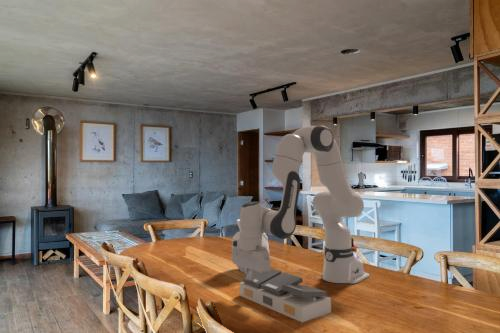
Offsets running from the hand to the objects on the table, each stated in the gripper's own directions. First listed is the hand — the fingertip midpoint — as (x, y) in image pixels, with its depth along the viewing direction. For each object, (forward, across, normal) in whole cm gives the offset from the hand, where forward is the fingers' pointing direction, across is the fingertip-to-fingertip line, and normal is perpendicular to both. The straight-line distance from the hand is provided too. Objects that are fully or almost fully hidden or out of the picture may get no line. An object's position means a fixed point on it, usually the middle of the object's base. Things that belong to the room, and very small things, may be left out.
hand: (250, 279), depth 152 cm
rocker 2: (0, -12, -6) cm, 13 cm away
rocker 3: (0, -23, -6) cm, 24 cm away
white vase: (+7, +32, -25) cm, 42 cm away
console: (+7, -12, -6) cm, 15 cm away
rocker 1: (0, 0, -6) cm, 6 cm away
